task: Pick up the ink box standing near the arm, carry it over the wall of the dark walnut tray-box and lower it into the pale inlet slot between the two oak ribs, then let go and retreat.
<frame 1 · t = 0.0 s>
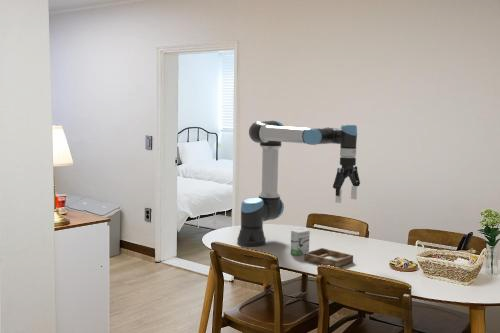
hand: (346, 200, 254), 28 cm above the table, fingers open, 13 cm apart
walled box: (328, 261, 250), on the table
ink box: (299, 253, 263), on the table
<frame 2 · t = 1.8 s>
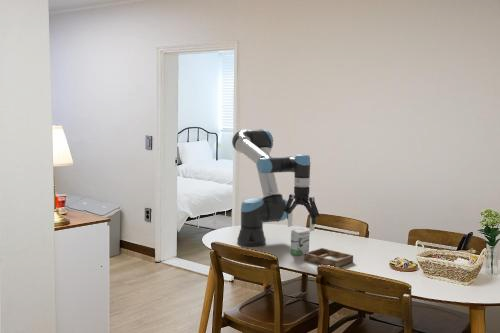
hand: (300, 228, 261), 13 cm above the table, fingers open, 13 cm apart
nothing on the table moved.
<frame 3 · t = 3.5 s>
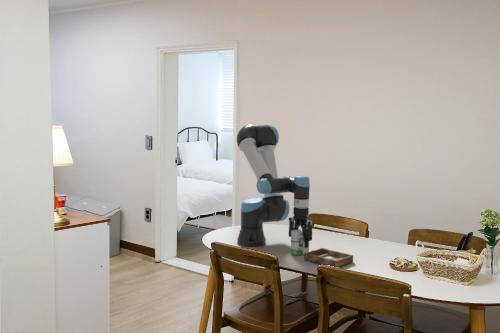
hand: (299, 252, 263), 0 cm above the table, fingers closed on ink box, 5 cm apart
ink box: (299, 253, 263), on the table, touching gripper
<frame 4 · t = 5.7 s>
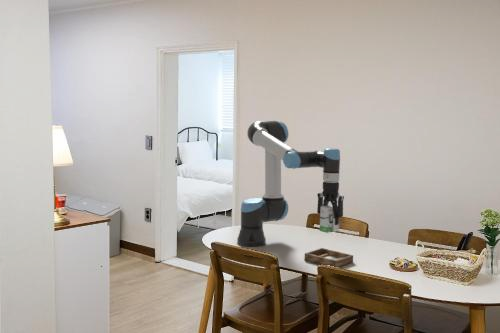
hand: (329, 230, 248), 15 cm above the table, fingers closed on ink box, 5 cm apart
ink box: (329, 231, 248), point 15 cm above the table, touching gripper
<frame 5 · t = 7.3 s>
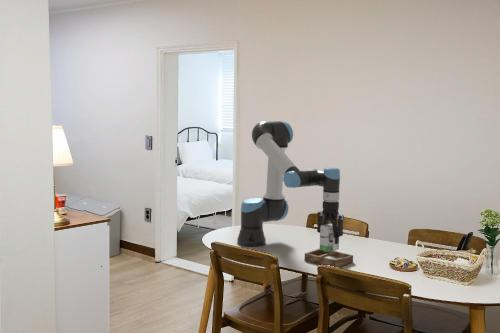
hand: (329, 249, 249), 6 cm above the table, fingers closed on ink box, 5 cm apart
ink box: (329, 250, 249), point 6 cm above the table, touching gripper
when the fingers open (3 cm above the table, at t = 8.3 s): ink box drops 1 cm, resting on walled box.
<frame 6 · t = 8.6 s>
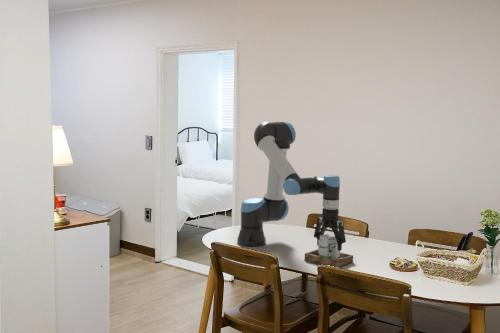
hand: (328, 254, 250), 3 cm above the table, fingers open, 9 cm apart
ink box: (328, 260, 250), point 1 cm above the table, touching walled box
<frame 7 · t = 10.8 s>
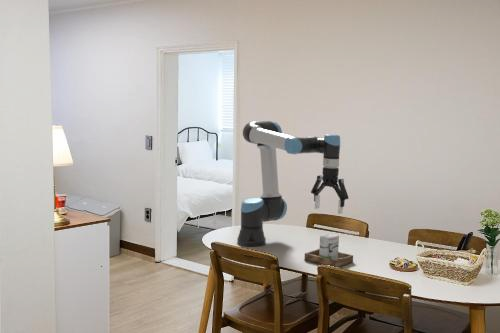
hand: (328, 211, 253), 23 cm above the table, fingers open, 13 cm apart
nothing on the table moved.
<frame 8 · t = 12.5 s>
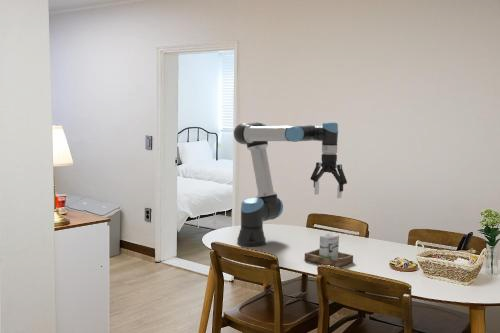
hand: (327, 196, 262), 29 cm above the table, fingers open, 13 cm apart
nothing on the table moved.
at the end: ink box 0.1 cm off-centre on the walled box, point 0.7 cm above the walled box's base; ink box tilted 0°; the gripper is holding nothing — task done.
